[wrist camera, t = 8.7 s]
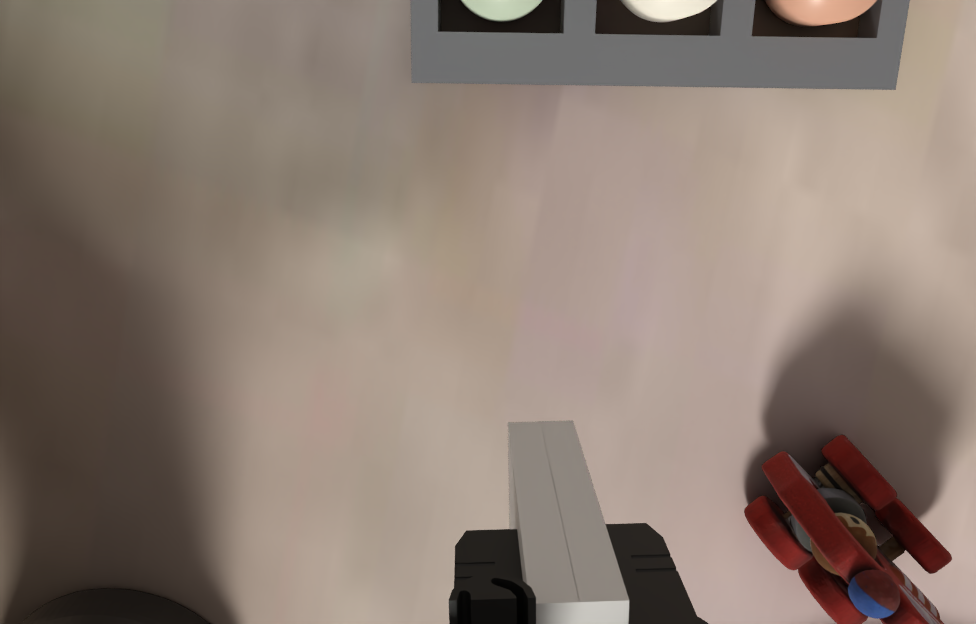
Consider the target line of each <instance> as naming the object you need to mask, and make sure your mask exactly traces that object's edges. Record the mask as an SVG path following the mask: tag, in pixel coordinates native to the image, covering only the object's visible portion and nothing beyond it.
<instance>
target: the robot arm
mask: <svg viewBox="0 0 976 624" xmlns="http://www.w3.org/2000/svg"><path fill="white" fill-rule="evenodd" d="M508 465H509V528H510V529H504V530H472V531H466V532H465V533H464V535H463V536H462V537H461V539H460V540H459V542H458V543H457V544H456V546H455V581H454V589H453V590H452V593H451V596H450V598H449V620H450V624H708V623H707V622H705V621H704V620H702V619H701V618H699V617H697V615H696V613H695V610H694V608H693V606H692V604H691V601H690V599H689V597H688V594H687V592H686V590H685V587H684V585H683V583H682V580H681V578H680V576H679V573H678V571H676V566H675V564H674V562H673V560H672V557H670V553H669V550H668V548H667V546H666V543H665V541H664V539H663V537H662V536H661V535H659V534H658V533H657V532H656V531H655V530H654V529H652V528H651V527H650V526H649V525H648V524H647V523H634V524H605V521H604V518H603V515H602V512H601V509H600V505H599V502H598V499H597V496H596V493H595V489H594V486H593V483H592V480H591V477H590V473H589V470H588V467H587V464H586V461H585V458H584V454H583V451H582V448H581V445H580V442H579V438H578V435H577V432H576V429H575V426H574V423H573V421H542V422H508ZM21 624H209V623H207V622H206V621H205V620H203V619H202V618H201V617H199V616H198V615H196V614H195V613H193V612H191V611H190V610H188V609H186V608H184V607H182V606H180V605H178V604H176V603H174V602H172V601H169V600H167V599H164V598H161V597H158V596H155V595H151V594H147V593H143V592H138V591H132V590H124V589H95V590H87V591H81V592H77V593H73V594H69V595H66V596H63V597H60V598H58V599H55V600H53V601H51V602H49V603H47V604H46V605H44V606H42V607H40V608H39V609H38V610H36V611H35V612H33V613H32V614H31V615H30V616H28V617H27V618H26V619H25V620H24V621H23V622H22V623H21Z"/></svg>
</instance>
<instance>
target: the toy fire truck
mask: <svg viewBox="0 0 976 624" xmlns="http://www.w3.org/2000/svg"><path fill="white" fill-rule="evenodd" d="M822 454H823V456H824V457H825V458H826V459H827V460H828V462H829V463H828V464H827V465H825V466H824V467H820V470H819V471H818V472H816V474H815V476H816V477H815V478H814V479H813V478H812V477H811V476H810V475H809V474H808V473H807V472H806V471H805V470H804V469H803V468H802V467H801V466H800V465H799V464H798V463H797V462H796V461H795V460H794V459H793V458H792V457H791V456H790V455H789V454H788V453H787V452H785V451H782V452H779V453H778V454H776V455H775V456H773V457H772V458H771V459H769V460H768V461H766V462H765V463H764V464H763V465H762V470H763V471H764V473H765V475H766V476H767V478H768V479H769V481H770V483H771V484H772V486H773V488H774V489H775V491H776V492H777V494H778V496H779V498H780V499H781V500H782V501H783V503H784V504H785V505H786V507H787V508H788V509H789V511H788V512H786V513H784V512H783V511H782V510H781V509H780V508H779V507H778V506H777V505H776V504H775V503H774V502H773V501H772V500H771V499H769V498H768V497H766V496H760V497H758V498H757V499H756V500H754V501H753V502H752V503H750V504H749V505H748V506H747V507H746V508H745V510H744V513H745V516H746V518H747V520H748V522H749V524H750V525H751V527H752V528H753V530H754V531H755V533H756V534H757V535H758V536H759V538H760V539H761V541H762V542H763V543H764V544H765V545H766V547H767V548H768V549H769V550H770V551H771V553H772V554H773V555H774V556H775V557H776V558H777V559H778V560H779V561H780V562H781V563H782V564H783V565H784V566H785V567H787V568H788V569H791V570H796V569H798V573H799V576H800V578H801V579H802V581H803V583H804V584H805V586H806V587H807V589H808V590H809V591H810V593H811V594H812V596H813V597H814V598H815V599H816V601H817V602H818V603H819V604H820V606H821V607H822V608H823V609H824V610H825V611H826V613H827V614H828V615H829V616H830V617H831V618H832V619H833V620H834V621H835V622H836V623H837V624H862V623H863V622H864V621H866V620H867V618H868V616H869V617H872V618H877V619H878V618H879V619H880V620H881V622H882V623H883V624H944V623H943V622H942V621H941V620H940V615H939V613H938V610H937V609H936V607H935V606H934V605H933V604H932V603H931V602H930V601H929V600H928V599H927V597H926V596H925V595H924V594H923V593H922V592H921V591H920V590H919V589H918V588H917V587H916V586H915V585H914V584H913V583H912V582H911V581H910V579H909V578H908V577H907V576H906V575H905V574H904V573H903V572H902V571H901V570H900V569H899V568H898V567H897V566H896V565H895V564H894V563H893V562H892V561H893V560H894V559H896V558H897V557H898V556H900V555H901V554H903V553H904V551H905V550H906V551H907V552H908V553H909V554H910V555H911V556H912V557H913V558H914V559H915V560H916V561H917V562H918V563H919V564H920V565H921V566H922V568H923V569H924V570H925V571H927V572H928V573H930V574H931V573H936V572H937V571H938V570H940V569H941V568H943V567H944V566H945V565H947V564H948V563H949V562H950V561H951V560H952V557H951V554H950V553H949V552H948V551H947V550H946V549H945V548H944V547H943V546H942V545H941V543H940V542H939V541H938V540H937V539H936V538H935V537H934V536H933V535H932V534H931V533H930V532H929V531H928V530H927V529H926V528H925V526H924V525H923V524H922V523H921V522H920V521H919V520H918V519H917V518H916V517H915V516H914V515H913V514H912V513H911V512H910V511H909V510H908V508H907V507H906V506H905V505H904V504H903V503H902V502H901V501H900V500H899V499H897V498H896V497H897V493H896V491H895V490H894V489H893V487H892V486H891V485H890V484H889V483H888V482H887V481H886V480H885V479H884V478H883V477H882V475H881V474H880V473H879V472H878V471H877V470H876V469H875V468H874V467H873V466H872V464H871V463H870V462H869V461H868V460H867V459H866V458H865V457H864V456H863V455H862V454H861V452H860V451H859V450H858V449H857V448H856V447H855V446H854V445H853V444H852V443H851V442H850V441H849V440H848V438H847V437H846V436H844V435H840V436H836V438H835V439H833V440H832V441H831V442H829V443H828V444H827V445H825V446H824V447H823V449H822ZM861 502H864V503H866V504H868V505H869V506H870V507H871V508H872V509H874V510H875V514H876V517H877V518H878V520H879V521H880V522H881V523H882V524H883V525H884V526H885V527H886V528H887V530H888V531H889V532H890V533H891V534H892V535H893V537H892V538H890V539H889V540H887V541H886V542H885V543H884V544H882V545H881V546H878V545H877V542H876V538H875V536H874V534H873V532H872V531H871V529H870V528H869V527H868V526H867V525H866V516H865V514H864V511H863V510H862V508H861V507H860V505H859V504H860V503H861Z"/></svg>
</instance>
